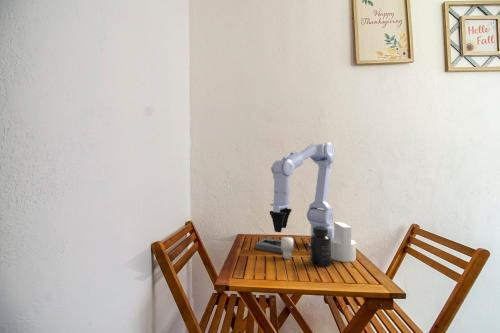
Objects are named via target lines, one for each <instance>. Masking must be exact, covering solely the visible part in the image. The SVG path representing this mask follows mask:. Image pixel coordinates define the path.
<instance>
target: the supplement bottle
mask: <svg viewBox="0 0 500 333" xmlns="http://www.w3.org/2000/svg"><path fill="white" fill-rule="evenodd" d="M313 233H314V235H312V236H311V235H310V240H309V241H310V242H309V243H310V246H309V247H310V262H311V264H312V265H314V266H316V267H323V268H324V267H329V266H331V264H332V258H331V238H330V237H329V236H328V235H327V234H328V228H326V227H314V228H313Z"/></svg>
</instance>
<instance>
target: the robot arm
mask: <svg viewBox="0 0 500 333" xmlns="http://www.w3.org/2000/svg"><path fill="white" fill-rule="evenodd" d="M334 157H335V149H334V146H333V144H332V143H331V142H325V143H324V142H323V143H315V144H313V143H312V144H309V145H307V146H306V147H305V148H304V149H302V150H301V151H299V152H297V151H292V152H289V155H287V156H283V157H282V159H280V160H279V159H277V160H275V161H274V162H272V165H271V167H270V170H271V173H272V174H273V175H272V178H273V181H274V182H273V203H270V205H269V206H271V207H273V208H272V210H270V211H269V215H270V217H271V220H272V225H273V230H274V233H282V230H283V229H286V228H287V225H288V220H289V217H290V215H291V212H292V210H293V209H292V208H291V205H290V189H291V187H290V186H291V176H292V175H293V173H294V170H296V169H297V168H299V167H301V166H302V165H303V164H304V160H308V159H309V158H310V159H311V160H312V161H313V162H314V164H316V165H318V171H317V179H316V185H315V186H316V187H315V195H314V201H313V202H311V203H310V204H309V205H308V209H307V212H306V218H307V220H308V221H309V224H310V237H311V236H312V235H314V233H313V228H314V227H326V228H328V234H327V235H328V236H329V237H330V238H334V225H333V226H332V225H331V224H332V223H333V221H334V215H333V207H332V206H331V205H330V204H329V203H328V201H329V200H328V197H329V190H330V181H331V171H332V166H333V165H332V164H333V163H334V159H335V158H334ZM308 247H310V242H309V243H308Z"/></svg>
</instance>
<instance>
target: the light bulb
mask: <svg viewBox="0 0 500 333" xmlns="http://www.w3.org/2000/svg"><path fill="white" fill-rule="evenodd" d="M280 240H281V250H282V251H283V254H282V259H283V258H284V259H283V260H286V259H287V260H289V259H290V260H291V259H292V252H293V251H294V238H293V237H290V236H283V237H281V238H280ZM287 260H286V261H287Z"/></svg>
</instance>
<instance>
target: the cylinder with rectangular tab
mask: <svg viewBox="0 0 500 333" xmlns="http://www.w3.org/2000/svg"><path fill="white" fill-rule="evenodd" d="M333 227H334V238H331V260H335V261H337V262H345V263H351V262H355V261H356V255H357V254H356V251H357V250H356V241H355V240H353V239H352V226H350V225H348V224H346V223H344V222H342V221H334V223H333Z"/></svg>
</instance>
